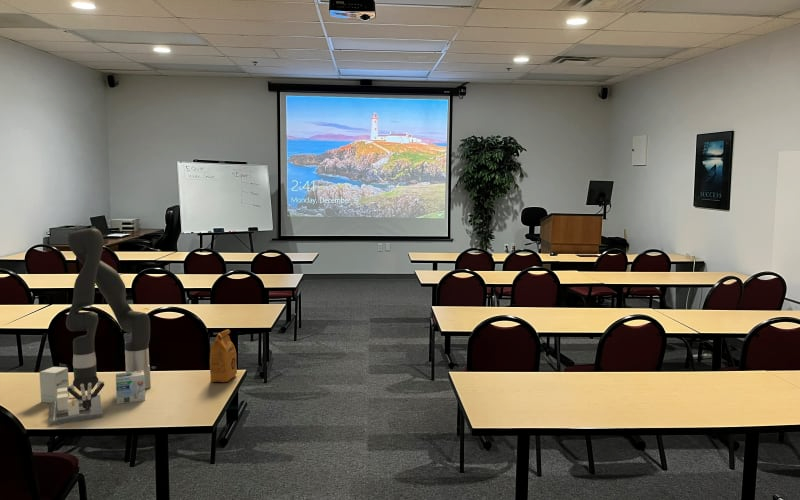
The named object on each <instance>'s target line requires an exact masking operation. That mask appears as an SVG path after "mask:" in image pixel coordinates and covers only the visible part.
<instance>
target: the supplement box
mask: <svg viewBox="0 0 800 500" xmlns="http://www.w3.org/2000/svg"><path fill="white" fill-rule="evenodd" d="M39 384H40V385H39V388H40V401H41V403H49V404H52V402H53V401H57V395H58V393H57V391H58V389H60V388H67V387H68V386H70V385H69V368H68V367H63V366H62V367H61V366H51V367H48V368H46V369H44V370H41V371H39ZM68 398H70V393H69V392H68Z"/></svg>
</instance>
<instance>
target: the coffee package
mask: <svg viewBox="0 0 800 500" xmlns="http://www.w3.org/2000/svg"><path fill="white" fill-rule="evenodd" d="M230 333H231V330H230V329H225V330H223V331H221V332H219V333H218V334H217V335H216V337H215V339H214V340H213V342H212V344H211V346H210V352H209V372H210V382H211V383H217V382H218V383H220V382H221V383H224V382H225V383H228V382H229V381H230V380H232V379H233V378H234V377H236V375H237V373H238V369H237V368H238V367H237V351H236V348H235V345H234V343H233V342H232V341H231V338H230V335H229V334H230Z"/></svg>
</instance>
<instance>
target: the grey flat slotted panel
mask: <svg viewBox="0 0 800 500" xmlns="http://www.w3.org/2000/svg"><path fill="white" fill-rule="evenodd" d="M85 395H86V398H87V394H85ZM68 399H76V398H75V397H74V396H72V397H68ZM101 400H102V399H101V394H97V396H96V397H93V398H92V399H91V407H90V408H89V409H87V410H85V408H83V401H82V400H79V415H72V416H68V409H67V410H60V411H58V407H57V401H53V402H52V403H51V410H50V420H49V424H50V426H51V427H52V426H55V425H63V424H68V423H75V422H80V421H86V420H93V419H98V418H99V417H100V418H104V417H103V409H102V401H101Z"/></svg>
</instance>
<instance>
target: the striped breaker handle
mask: <svg viewBox="0 0 800 500" xmlns="http://www.w3.org/2000/svg"><path fill="white" fill-rule="evenodd" d="M72 415H79V400H77V399H69V400H68V416H72Z"/></svg>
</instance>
